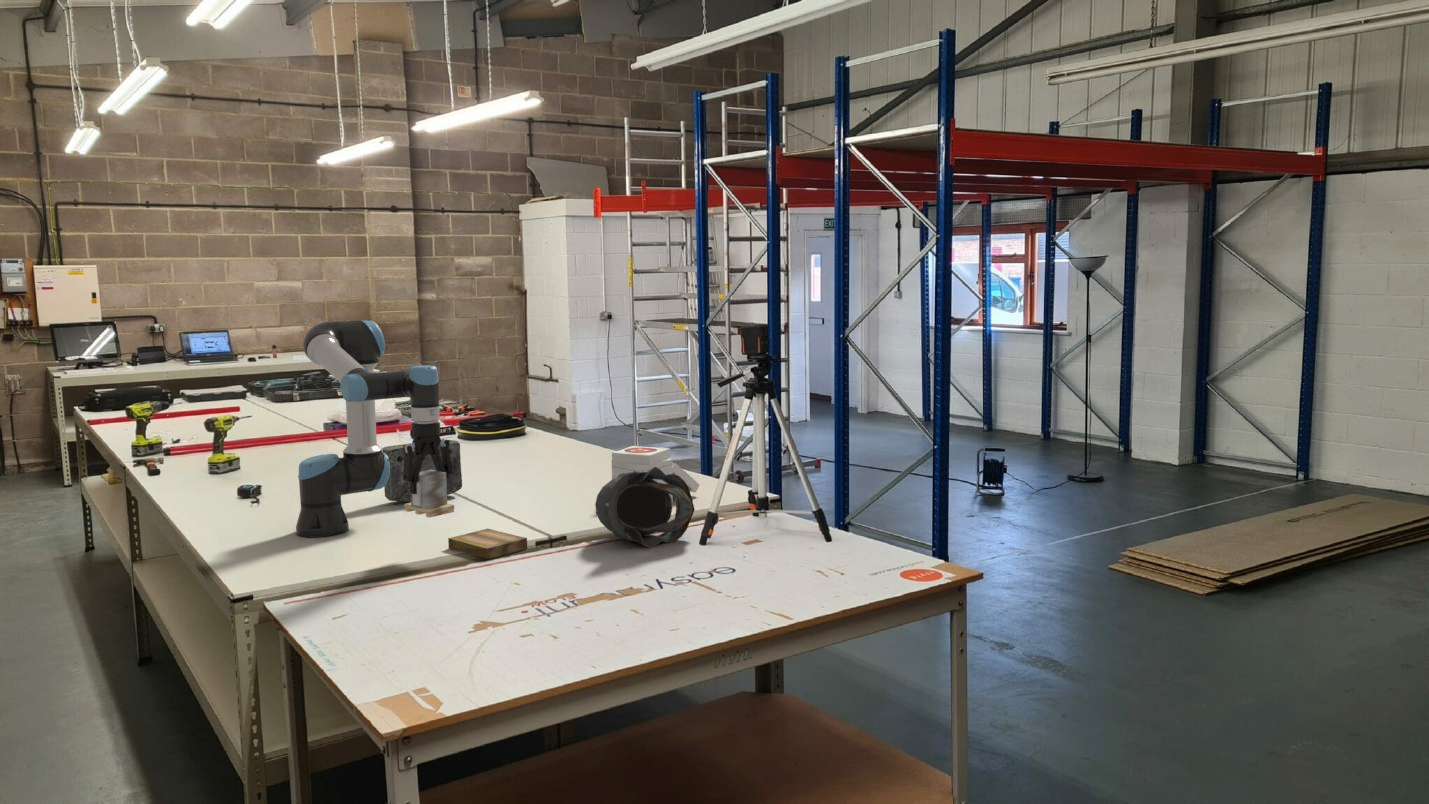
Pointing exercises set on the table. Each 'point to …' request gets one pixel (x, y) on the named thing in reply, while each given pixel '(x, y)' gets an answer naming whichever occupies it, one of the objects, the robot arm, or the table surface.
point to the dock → (487, 543)
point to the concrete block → (401, 489)
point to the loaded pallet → (431, 495)
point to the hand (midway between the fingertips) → (429, 502)
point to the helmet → (645, 507)
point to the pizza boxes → (649, 463)
